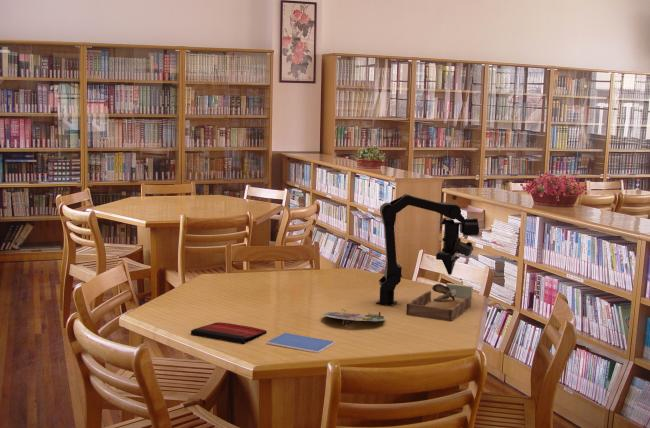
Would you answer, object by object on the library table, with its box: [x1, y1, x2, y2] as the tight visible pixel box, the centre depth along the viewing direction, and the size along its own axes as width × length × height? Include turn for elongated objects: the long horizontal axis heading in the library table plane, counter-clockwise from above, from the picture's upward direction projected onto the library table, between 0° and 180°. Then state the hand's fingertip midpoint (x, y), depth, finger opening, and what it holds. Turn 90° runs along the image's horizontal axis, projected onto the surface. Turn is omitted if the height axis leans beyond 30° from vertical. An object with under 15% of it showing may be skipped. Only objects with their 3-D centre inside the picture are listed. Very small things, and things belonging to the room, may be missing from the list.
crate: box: [405, 290, 472, 322], centre depth 299 cm, size 25×17×4 cm
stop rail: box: [445, 282, 474, 300], centre depth 321 cm, size 2×10×5 cm, turn 64°
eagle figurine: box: [431, 283, 457, 302], centre depth 315 cm, size 8×7×9 cm
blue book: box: [266, 332, 336, 354], centre depth 253 cm, size 19×13×1 cm, turn 63°
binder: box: [190, 322, 268, 345], centre depth 263 cm, size 16×2×21 cm
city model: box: [322, 308, 386, 328], centre depth 282 cm, size 25×23×6 cm
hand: (449, 274), depth 308 cm, fingers closed
